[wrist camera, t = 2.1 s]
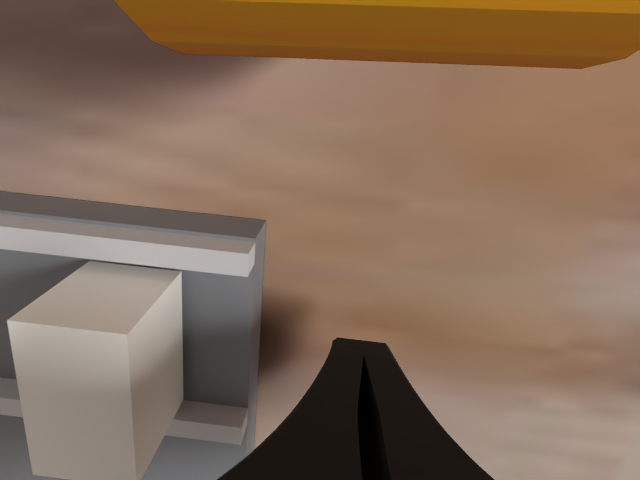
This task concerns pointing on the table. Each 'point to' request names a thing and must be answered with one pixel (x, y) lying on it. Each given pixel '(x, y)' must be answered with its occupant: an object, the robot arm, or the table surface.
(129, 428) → the white block
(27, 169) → the table surface
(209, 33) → the carrot
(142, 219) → the control panel
